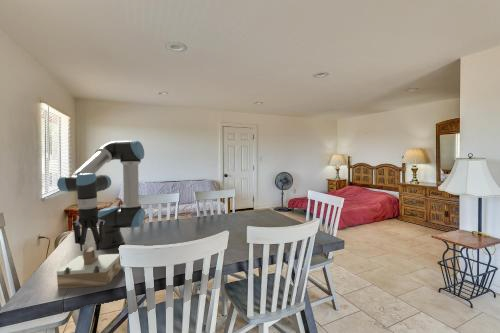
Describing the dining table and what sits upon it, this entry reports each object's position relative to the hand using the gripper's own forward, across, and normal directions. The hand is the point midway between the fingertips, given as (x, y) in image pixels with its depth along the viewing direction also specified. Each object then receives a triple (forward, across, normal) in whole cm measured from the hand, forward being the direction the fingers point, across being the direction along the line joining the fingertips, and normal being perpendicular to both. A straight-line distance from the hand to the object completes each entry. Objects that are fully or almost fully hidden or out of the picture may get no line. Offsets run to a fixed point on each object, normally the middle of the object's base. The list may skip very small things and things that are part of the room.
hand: (91, 257), depth 117 cm
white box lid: (+4, 0, 0) cm, 4 cm away
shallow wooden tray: (+10, 0, 0) cm, 10 cm away
